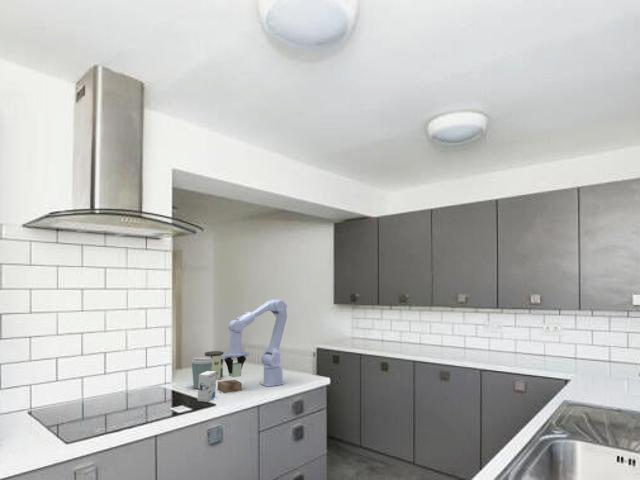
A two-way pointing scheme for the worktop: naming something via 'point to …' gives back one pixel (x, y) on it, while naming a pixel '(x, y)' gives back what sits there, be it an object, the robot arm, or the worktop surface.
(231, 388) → the walnut base
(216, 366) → the coffee can
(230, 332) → the robot arm
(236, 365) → the green block
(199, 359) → the disposable coffee cup
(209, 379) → the ink box
